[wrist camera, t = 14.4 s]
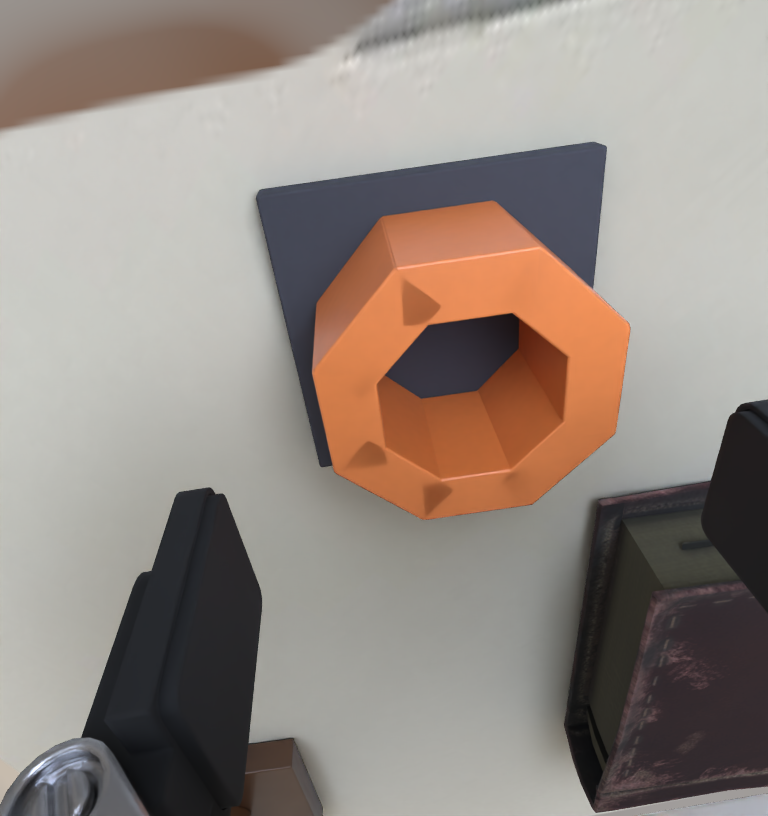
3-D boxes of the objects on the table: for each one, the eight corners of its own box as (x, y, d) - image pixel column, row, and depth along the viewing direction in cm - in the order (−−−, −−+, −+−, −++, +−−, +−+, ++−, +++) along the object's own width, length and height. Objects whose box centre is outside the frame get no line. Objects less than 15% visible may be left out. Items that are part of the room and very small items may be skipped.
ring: (344, 444, 18) (347, 532, 15) (300, 227, 14) (291, 282, 11) (558, 413, 18) (608, 494, 15) (573, 187, 14) (646, 231, 11)
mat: (320, 454, 20) (320, 468, 19) (258, 189, 15) (254, 196, 14) (571, 418, 20) (580, 431, 19) (595, 141, 15) (608, 145, 14)
